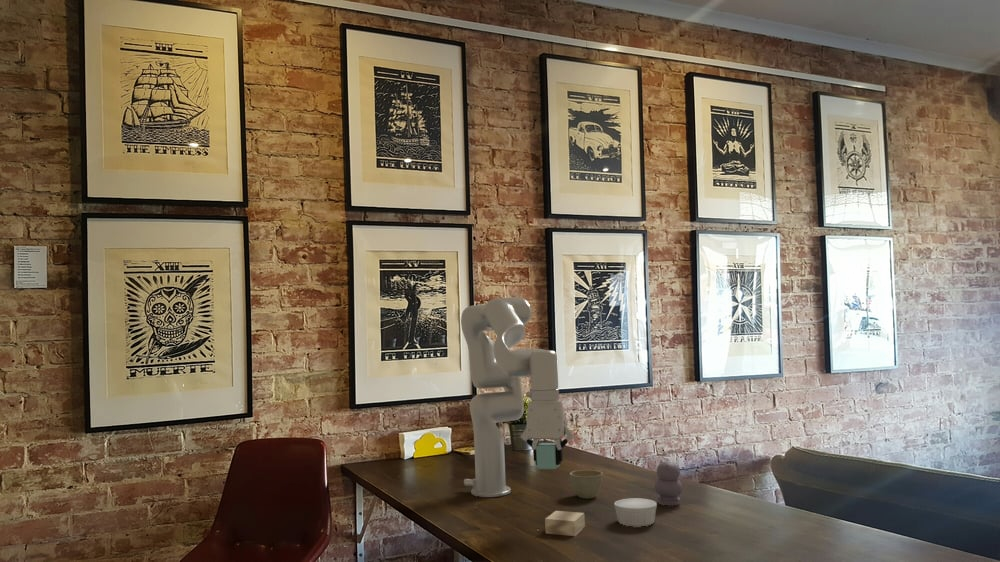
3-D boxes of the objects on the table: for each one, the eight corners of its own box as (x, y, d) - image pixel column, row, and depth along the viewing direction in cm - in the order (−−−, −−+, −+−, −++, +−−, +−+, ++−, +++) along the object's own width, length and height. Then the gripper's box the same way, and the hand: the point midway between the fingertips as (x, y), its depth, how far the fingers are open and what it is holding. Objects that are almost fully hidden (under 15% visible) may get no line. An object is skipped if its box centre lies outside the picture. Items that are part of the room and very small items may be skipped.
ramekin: (612, 517, 203) (611, 498, 203) (653, 516, 203) (652, 496, 203) (617, 529, 192) (616, 509, 192) (661, 528, 192) (660, 507, 192)
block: (537, 468, 198) (536, 446, 198) (541, 465, 202) (540, 443, 203) (555, 469, 196) (554, 446, 196) (559, 465, 201) (558, 443, 201)
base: (545, 534, 191) (545, 518, 191) (556, 525, 198) (555, 510, 198) (575, 537, 188) (574, 521, 188) (585, 528, 195) (584, 513, 195)
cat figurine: (687, 506, 211) (685, 463, 212) (660, 507, 211) (658, 465, 211) (678, 498, 220) (676, 458, 220) (652, 500, 219) (650, 459, 220)
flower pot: (602, 501, 221) (601, 476, 221) (569, 500, 223) (568, 476, 223) (604, 492, 230) (603, 469, 231) (572, 492, 232) (571, 469, 233)
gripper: (510, 398, 199) (514, 466, 198) (572, 397, 194) (576, 467, 193) (518, 395, 206) (522, 461, 205) (578, 394, 201) (582, 461, 200)
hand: (548, 463), depth 199 cm, fingers closed on block, 5 cm apart
